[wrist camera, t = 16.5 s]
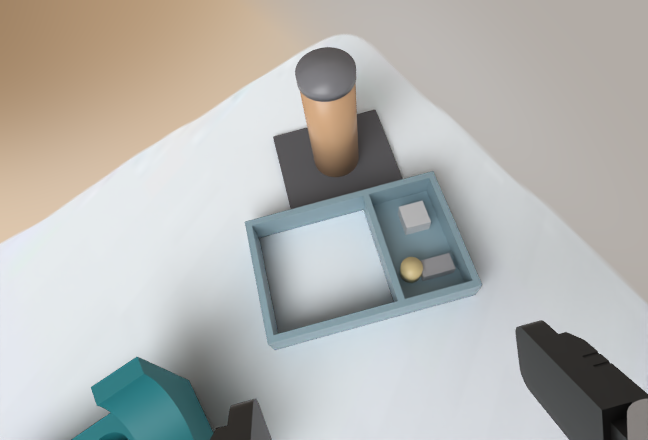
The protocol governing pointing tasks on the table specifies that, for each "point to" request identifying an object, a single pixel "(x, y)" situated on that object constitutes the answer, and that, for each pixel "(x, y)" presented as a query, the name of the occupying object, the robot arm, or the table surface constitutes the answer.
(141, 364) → the teal notched block
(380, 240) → the parts tub
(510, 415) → the table surface
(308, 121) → the brown canister
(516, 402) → the table surface
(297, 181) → the black mat
